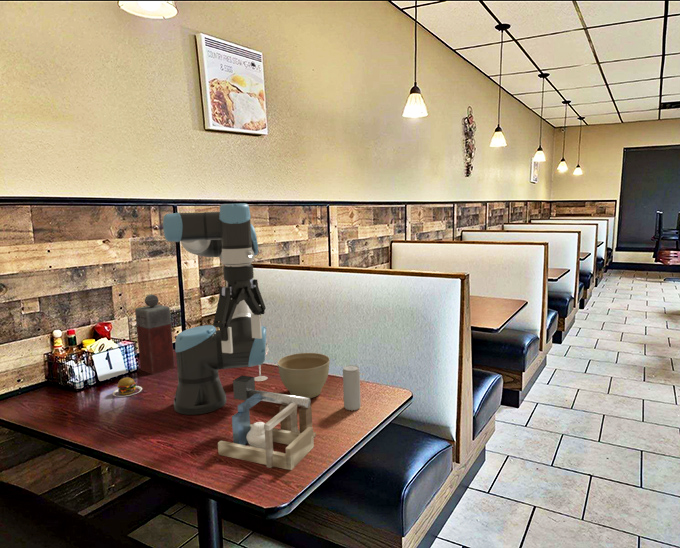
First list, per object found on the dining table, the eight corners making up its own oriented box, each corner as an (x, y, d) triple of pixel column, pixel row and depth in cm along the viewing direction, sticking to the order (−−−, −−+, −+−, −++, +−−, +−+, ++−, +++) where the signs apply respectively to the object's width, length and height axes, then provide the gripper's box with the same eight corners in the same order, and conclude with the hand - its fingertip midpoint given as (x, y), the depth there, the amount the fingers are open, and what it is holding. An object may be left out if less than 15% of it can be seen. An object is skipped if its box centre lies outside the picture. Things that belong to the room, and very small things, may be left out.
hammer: (213, 443, 120) (209, 393, 118) (244, 420, 132) (241, 375, 130) (287, 458, 111) (284, 405, 109) (313, 432, 123) (311, 384, 122)
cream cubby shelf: (277, 436, 123) (276, 407, 122) (285, 430, 127) (284, 401, 126) (308, 442, 120) (307, 412, 119) (316, 435, 123) (314, 405, 122)
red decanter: (159, 362, 188) (153, 291, 184) (175, 367, 181) (168, 293, 177) (137, 368, 181) (130, 295, 177) (152, 374, 174) (145, 298, 170)
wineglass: (246, 379, 165) (244, 345, 164) (260, 373, 171) (258, 341, 169) (260, 383, 161) (258, 348, 160) (274, 377, 167) (272, 343, 165)
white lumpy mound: (264, 457, 113) (263, 429, 112) (242, 453, 115) (240, 425, 114) (277, 445, 119) (275, 418, 118) (255, 441, 121) (254, 415, 120)
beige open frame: (216, 456, 115) (213, 415, 113) (247, 432, 126) (245, 395, 125) (289, 472, 107) (287, 428, 105) (315, 445, 118) (313, 406, 117)
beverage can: (359, 411, 137) (358, 370, 135) (342, 410, 138) (341, 370, 136) (361, 404, 141) (360, 365, 140) (345, 404, 142) (344, 364, 141)
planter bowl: (290, 382, 161) (288, 351, 160) (336, 386, 157) (335, 353, 155) (270, 401, 146) (268, 367, 144) (321, 406, 141) (320, 370, 140)
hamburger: (148, 385, 165) (146, 369, 164) (146, 397, 154) (145, 381, 153) (109, 390, 161) (108, 374, 161) (105, 404, 150) (103, 387, 149)
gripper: (220, 271, 111) (226, 361, 114) (275, 259, 133) (279, 333, 136) (194, 270, 113) (200, 358, 116) (252, 258, 136) (256, 331, 139)
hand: (243, 345), depth 126 cm, fingers open, 13 cm apart
